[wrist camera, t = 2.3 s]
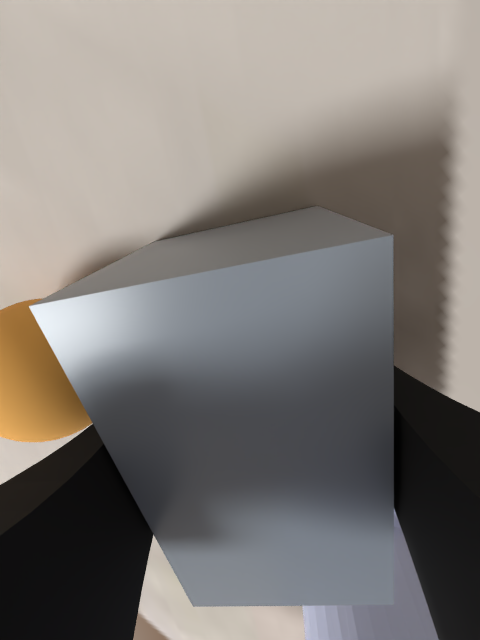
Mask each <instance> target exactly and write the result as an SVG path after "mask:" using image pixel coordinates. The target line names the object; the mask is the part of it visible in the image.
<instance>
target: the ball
mask: <svg viewBox="0 0 480 640" xmlns="http://www.w3.org/2000/svg"><path fill="white" fill-rule="evenodd" d="M40 300H42V299H34V300H28V301H24V302H20V303H16V304H14V305H11V306H8V307H6V308H4V309H2V310H0V437H3V438H7V439H10V440H15V441H21V442H44V441H51V440H56V439H60V438H63V437H66V436H69V435H72V434H74V433H76V432H78V431H80V430H82V429H84V428H86V427H87V426H89V425H90V424H92V421H91V419H90V417H89V416H88V414H87V412H86V410H85V408H84V406H83V405H82V403H81V401H80V399H79V397H78V395H77V394H76V392H75V390H74V388H73V386H72V385H71V383H70V381H69V379H68V377H67V375H66V374H65V372H64V370H63V368H62V366H61V364H60V363H59V361H58V359H57V357H56V355H55V354H54V352H53V350H52V348H51V346H50V344H49V343H48V341H47V339H46V337H45V335H44V333H43V332H42V330H41V328H40V326H39V324H38V323H37V321H36V319H35V317H34V315H33V313H32V312H31V310H30V308H29V306H30V305H32V304H34V303H36V302H38V301H40Z"/></svg>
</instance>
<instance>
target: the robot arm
mask: <svg viewBox="0 0 480 640" xmlns="http://www.w3.org/2000/svg"><path fill="white" fill-rule="evenodd" d="M152 538H153V532H152V530H151V529H150V527H149V525H148V523H147V521H146V519H145V518H144V516H143V514H142V512H141V510H140V509H139V507H138V505H137V503H136V501H135V499H134V498H133V496H132V494H131V492H130V490H129V488H128V487H127V485H126V483H125V481H124V479H123V478H122V476H121V474H120V472H119V470H118V468H117V467H116V465H115V463H114V461H113V459H112V457H111V456H110V454H109V452H108V450H107V448H106V447H105V445H104V443H103V441H102V439H101V437H100V436H99V434H98V432H97V430H96V428H95V426H94V425H93V424H92V425H91V426H89V427H88V428H87V429H86V430H84V431H83V432H82V433H80V434H79V435H78V436H76V437H75V438H74V439H72V440H71V441H69V442H68V443H67V444H65V445H64V446H62V447H61V448H59V449H58V450H56V451H55V452H53V453H52V454H50V455H49V456H47V457H46V458H44V459H43V460H41V461H39V462H38V463H36V464H35V465H33V466H31V467H30V468H28V469H26V470H25V471H23V472H21V473H20V474H18V475H16V476H15V477H13V478H11V479H10V480H8V481H6V482H5V483H3V484H1V485H0V640H133V637H134V630H135V625H136V619H137V614H138V608H139V602H140V597H141V591H142V586H143V581H144V576H145V571H146V566H147V561H148V556H149V551H150V547H151V543H152ZM302 607H303V618H304V629H305V640H480V412H478V411H476V410H474V409H472V408H469V407H467V406H465V405H463V404H461V403H459V402H457V401H455V400H453V399H451V398H449V397H447V396H445V395H443V394H441V393H439V392H438V391H436V390H434V389H432V388H430V387H429V386H427V385H425V384H423V383H421V382H420V381H418V380H416V379H415V378H413V377H411V376H410V375H408V374H406V373H405V372H403V371H402V370H400V369H399V368H397V367H395V366H394V605H321V606H302Z"/></svg>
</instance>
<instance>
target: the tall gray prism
mask: <svg viewBox="0 0 480 640" xmlns="http://www.w3.org/2000/svg"><path fill="white" fill-rule="evenodd" d="M29 308H30V310H31V312H32V313H33V315H34V317H35V319H36V321H37V323H38V324H39V326H40V328H41V330H42V332H43V333H44V335H45V337H46V339H47V341H48V343H49V344H50V346H51V348H52V350H53V352H54V354H55V355H56V357H57V359H58V361H59V363H60V364H61V366H62V368H63V370H64V372H65V374H66V375H67V377H68V379H69V381H70V383H71V385H72V386H73V388H74V390H75V392H76V394H77V395H78V397H79V399H80V401H81V403H82V405H83V406H84V408H85V410H86V412H87V414H88V416H89V417H90V419H91V421H92V423H93V425H94V426H95V428H96V430H97V432H98V434H99V436H100V437H101V439H102V441H103V443H104V445H105V447H106V448H107V450H108V452H109V454H110V456H111V457H112V459H113V461H114V463H115V465H116V467H117V468H118V470H119V472H120V474H121V476H122V478H123V479H124V481H125V483H126V485H127V487H128V488H129V490H130V492H131V494H132V496H133V498H134V499H135V501H136V503H137V505H138V507H139V509H140V510H141V512H142V514H143V516H144V518H145V519H146V521H147V523H148V525H149V527H150V529H151V530H152V532H153V534H154V536H155V538H156V540H157V541H158V543H159V545H160V547H161V549H162V550H163V552H164V554H165V556H166V558H167V560H168V561H169V563H170V565H171V567H172V569H173V571H174V572H175V574H176V576H177V578H178V580H179V581H180V583H181V585H182V587H183V589H184V591H185V592H186V594H187V596H188V598H189V600H190V602H191V603H192V605H193V607H195V606H321V605H394V290H393V235H392V234H390V233H387V232H385V231H382V230H379V229H377V228H374V227H372V226H369V225H366V224H364V223H361V222H359V221H356V220H354V219H351V218H348V217H346V216H343V215H341V214H338V213H335V212H333V211H330V210H328V209H325V208H323V207H320V206H314V207H310V208H305V209H301V210H296V211H291V212H287V213H282V214H278V215H273V216H269V217H264V218H259V219H255V220H250V221H246V222H241V223H237V224H232V225H227V226H223V227H218V228H214V229H209V230H205V231H200V232H196V233H191V234H186V235H182V236H177V237H173V238H168V239H164V240H159V241H154V242H152V243H150V244H149V245H147V246H145V247H143V248H141V249H139V250H137V251H135V252H133V253H131V254H129V255H127V256H125V257H123V258H121V259H119V260H117V261H116V262H114V263H112V264H110V265H108V266H106V267H104V268H102V269H100V270H98V271H96V272H94V273H92V274H90V275H88V276H86V277H84V278H83V279H81V280H79V281H77V282H75V283H73V284H71V285H69V286H67V287H65V288H63V289H61V290H59V291H57V292H55V293H53V294H51V295H50V296H48V297H46V298H44V299H42V300H40V301H38V302H36V303H34V304H32V305H30V306H29Z"/></svg>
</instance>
